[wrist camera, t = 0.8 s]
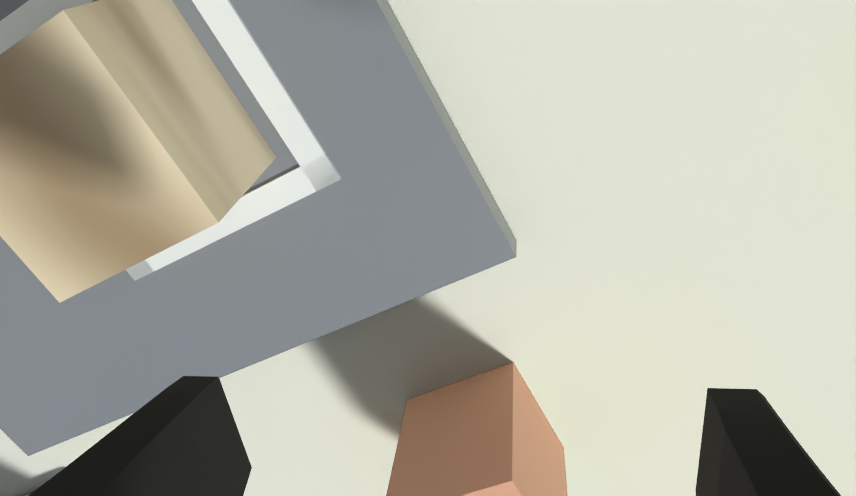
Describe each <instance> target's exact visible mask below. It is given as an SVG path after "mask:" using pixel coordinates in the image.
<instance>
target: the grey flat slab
mask: <svg viewBox="0 0 856 496" xmlns="http://www.w3.org/2000/svg"><path fill="white" fill-rule="evenodd" d="M94 1H98V0H0V54H2V53H3V52H4V51H6V50H7V49H9V48H10V47H11V46H13V45H14V44H16V43H17V42H19V41H20V40H21V39H23V38H24V37H26V36H27V35H29V34H30V33H31V32H33V31H34V30H36V29H37V28H39V27H40V26H41V25H43V24H44V23H46V22H47V21H48V20H50V19H51V18H53V17H54V16H56V15H57V14H58V13H60V12H61V11H63V10H66V9H69V8H73V7H76V6H80V5H84V4H87V3H91V2H94ZM172 1H173V3H174V4H175V6H176V7H177V9H178V10H179V12H180V13H181V15H182V16H183V18H184V19H185V21H186V22H187V24H188V25H189V27H190V28H191V30H192V31H193V33H194V34H195V36H196V37H197V39H198V40H199V42H200V43H201V45H202V46H203V48H204V49H205V51H206V52H207V54H208V55H209V57H210V58H211V60H212V61H213V63H214V64H215V66H216V67H217V69H218V70H219V72H220V73H221V75H222V76H223V78H224V79H225V81H226V83H227V84H228V86H229V87H230V89H231V90H232V92H233V93H234V95H235V96H236V98H237V99H238V101H239V102H240V104H241V105H242V107H243V108H244V110H245V111H246V113H247V114H248V116H249V117H250V119H251V120H252V122H253V123H254V125H255V126H256V128H257V129H258V131H259V132H260V134H261V135H262V137H263V138H264V140H265V141H266V143H267V144H268V146H269V147H270V149H271V150H272V152H273V153H274V155H275V156H276V158H275V159H274V161H273V162H272V163H271V164H270V165H269V166H268V167H267V169H266V170H265V171H264V172H263V173H262V174H261V175H260V176H259V178H258V179H257V180H256V181H255V182H254V183H253V184H252V186H251V187H250V188H249V189H248V190H247V191H246V192H245V193H244V195H243V196H242V197H241V198H240V199H239V200H238V201H237V202H236V204H235V205H234V206H233V207H232V208H231V209H230V210H229V212H228V213H227V214H226V215H225V216H224V217H223V218H222V219H221V221H220V222H219V223H217V224H215V225H213V226H211V227H209V228H207V229H205V230H203V231H201V232H199V233H197V234H195V235H193V236H191V237H189V238H187V239H185V240H183V241H181V242H179V243H177V244H175V245H173V246H171V247H169V248H167V249H165V250H163V251H161V252H159V253H157V254H155V255H153V256H151V257H149V258H147V259H146V260H144V261H142V262H140V263H138V264H136V265H134V266H132V267H130V268H128V269H126V270H124V271H122V272H120V273H118V274H116V275H114V276H112V277H110V278H108V279H106V280H104V281H102V282H100V283H98V284H96V285H94V286H92V287H90V288H88V289H86V290H84V291H82V292H80V293H78V294H76V295H74V296H72V297H70V298H68V299H66V300H64V301H62V302H60V303H59V302H58V301H57V300H56V298H55V297H54V296H53V295H52V294H51V293H50V292H49V290H48V289H47V288H46V287H45V286H44V285H43V284H42V283H41V281H40V280H39V279H38V278H37V277H36V276H35V275H34V274H33V272H32V271H31V270H30V269H29V268H28V267H27V266H26V265H25V263H24V262H23V261H22V260H21V259H20V258H19V257H18V256H17V254H16V253H15V252H14V251H13V250H12V249H11V248H10V246H9V245H8V244H7V243H6V242H5V241H4V240H3V239H2V237H1V236H0V429H1V430H2V431H3V432H4V433H5V434H6V435H7V436H8V437H9V438H10V439H11V440H12V441H13V442H14V443H15V444H16V445H17V446H19V447H20V448H21V449H22V450H23V451H24V452H25V453H26V454H27V455H28V456H29V455H32V454H34V453H37V452H39V451H42V450H44V449H46V448H49V447H51V446H54V445H56V444H59V443H61V442H64V441H66V440H69V439H71V438H73V437H76V436H78V435H81V434H83V433H86V432H88V431H91V430H93V429H96V428H98V427H100V426H103V425H105V424H108V423H110V422H113V421H115V420H118V419H120V418H122V417H125V416H127V415H130V414H132V413H135V412H136V411H138V410H139V409H140V408H141V407H143V406H144V405H145V404H147V403H148V402H149V401H150V400H152V399H153V398H154V397H155V396H157V395H158V394H159V393H161V392H162V391H163V390H165V389H166V388H167V387H169V386H170V385H171V384H173V383H174V382H176V381H177V380H178V379H180V378H181V377H183V376H211V377H219V378H221V377H223V376H225V375H228V374H230V373H233V372H235V371H238V370H240V369H243V368H245V367H248V366H250V365H252V364H255V363H257V362H260V361H262V360H265V359H267V358H270V357H272V356H275V355H277V354H279V353H282V352H284V351H287V350H289V349H292V348H294V347H297V346H299V345H302V344H304V343H306V342H309V341H311V340H314V339H316V338H319V337H321V336H324V335H326V334H328V333H331V332H333V331H336V330H338V329H341V328H343V327H346V326H348V325H351V324H353V323H355V322H358V321H360V320H363V319H365V318H368V317H370V316H373V315H375V314H378V313H380V312H382V311H385V310H387V309H390V308H392V307H395V306H397V305H400V304H402V303H405V302H407V301H409V300H412V299H414V298H417V297H419V296H422V295H424V294H427V293H429V292H431V291H434V290H436V289H439V288H441V287H444V286H446V285H449V284H451V283H454V282H456V281H458V280H461V279H463V278H466V277H468V276H471V275H473V274H476V273H478V272H481V271H483V270H485V269H488V268H490V267H493V266H495V265H498V264H500V263H503V262H505V261H508V260H510V259H512V258H515V257H516V239H515V237H514V235H513V233H512V231H511V229H510V228H509V226H508V224H507V222H506V220H505V218H504V216H503V215H502V213H501V211H500V209H499V207H498V205H497V203H496V202H495V200H494V198H493V196H492V194H491V192H490V190H489V189H488V187H487V185H486V183H485V181H484V179H483V177H482V176H481V174H480V172H479V170H478V168H477V166H476V164H475V163H474V161H473V159H472V157H471V155H470V153H469V151H468V150H467V148H466V146H465V144H464V142H463V140H462V139H461V137H460V135H459V133H458V131H457V129H456V127H455V126H454V124H453V122H452V120H451V118H450V116H449V114H448V113H447V111H446V109H445V107H444V105H443V103H442V101H441V100H440V98H439V96H438V94H437V92H436V90H435V88H434V87H433V85H432V83H431V81H430V79H429V77H428V75H427V74H426V72H425V70H424V68H423V66H422V64H421V62H420V61H419V59H418V57H417V55H416V53H415V51H414V49H413V48H412V46H411V44H410V42H409V40H408V38H407V36H406V35H405V33H404V31H403V29H402V27H401V25H400V23H399V22H398V20H397V18H396V16H395V14H394V12H393V10H392V9H391V7H390V5H389V3H388V1H387V0H172Z"/></svg>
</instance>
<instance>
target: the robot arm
mask: <svg viewBox="0 0 856 496" xmlns="http://www.w3.org/2000/svg"><path fill="white" fill-rule="evenodd" d="M251 468H252V467H251V465H250V462H249V459H248V456H247V454H246V451H245V448H244V445H243V443H242V440H241V437H240V434H239V432H238V429H237V426H236V423H235V421H234V418H233V415H232V412H231V410H230V407H229V404H228V401H227V399H226V396H225V393H224V390H223V388H222V385H221V382H220V379H219V377H211V376H183V377H181V378H180V379H178V380H177V381H176V382H174V383H173V384H171V385H170V386H169V387H167V388H166V389H165V390H163V391H162V392H161V393H159V394H158V395H157V396H155V397H154V398H153V399H152V400H150V401H149V402H148V403H147V404H145V405H144V406H143V407H141V408H140V409H139V410H138V411H136V412H135V413H134V414H133V415H131V416H130V417H129V418H128V419H126V420H125V421H124V422H123V423H121V424H120V425H119V426H118V427H116V428H115V429H114V430H112V431H111V432H110V433H109V434H107V435H106V436H105V437H104V438H102V439H101V440H100V441H99V442H97V443H96V444H95V445H93V446H92V447H91V448H90V449H88V450H87V451H86V452H85V453H83V454H82V455H81V456H79V457H78V458H77V459H76V460H74V461H73V462H72V463H71V464H69V465H68V466H67V467H65V468H64V469H63V470H62V471H60V472H59V473H58V474H57V475H55V476H54V477H53V478H51V479H50V480H49V481H47V482H46V483H44V484H43V485H42V486H40V487H39V488H38V489H36V490H35V491H34V492H32V493H31V494H29V495H26V496H243V494H244V491H245V488H246V484H247V481H248V478H249V475H250V471H251ZM696 496H841V495H840V494H839V493H838V491H837V490H836V489H835V488H834V487H833V485H832V484H831V483H830V482H829V480H828V479H827V478H826V477H825V475H824V474H823V473H822V472H821V470H820V469H819V468H818V467H817V465H816V464H815V463H814V462H813V460H812V459H811V458H810V457H809V455H808V454H807V453H806V452H805V450H804V449H803V448H802V446H801V445H800V444H799V442H798V441H797V440H796V439H795V437H794V436H793V435H792V433H791V432H790V431H789V429H788V428H787V427H786V425H785V424H784V423H783V421H782V420H781V419H780V417H779V416H778V415H777V413H776V412H775V411H774V409H773V408H772V406H771V405H770V404H769V402H768V401H767V400H766V398H765V397H764V396H763V395H762V394H761V393H760V392H759V391H758V390H757V389H718V388H708V390H707V398H706V407H705V416H704V424H703V433H702V441H701V450H700V458H699V467H698V475H697V484H696Z"/></svg>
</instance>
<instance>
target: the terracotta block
mask: <svg viewBox="0 0 856 496" xmlns="http://www.w3.org/2000/svg"><path fill="white" fill-rule="evenodd" d="M386 496H567V483H566V471H565V459H564V447H563V446H562V444H561V442H560V440H559V439H558V437H557V435H556V434H555V432H554V430H553V429H552V427H551V425H550V424H549V422H548V420H547V418H546V417H545V415H544V413H543V412H542V410H541V408H540V407H539V405H538V403H537V401H536V400H535V398H534V396H533V395H532V393H531V391H530V390H529V388H528V386H527V384H526V383H525V381H524V379H523V378H522V376H521V374H520V373H519V371H518V369H517V368H516V366H515V364H514V362H513V363H510V364H507V365H504V366H501V367H498V368H496V369H493V370H490V371H487V372H484V373H481V374H479V375H476V376H473V377H470V378H467V379H464V380H462V381H459V382H456V383H453V384H450V385H448V386H445V387H442V388H439V389H436V390H433V391H431V392H428V393H425V394H422V395H419V396H416V397H414V398H411V399H408V400H407V402H406V407H405V411H404V416H403V421H402V425H401V430H400V435H399V439H398V444H397V449H396V453H395V458H394V462H393V467H392V472H391V476H390V481H389V486H388V490H387V495H386Z"/></svg>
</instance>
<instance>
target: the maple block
mask: <svg viewBox="0 0 856 496" xmlns="http://www.w3.org/2000/svg"><path fill="white" fill-rule="evenodd" d="M275 158H276V156H275V155H274V153H273V152H272V150H271V149H270V147H269V146H268V144H267V143H266V141H265V140H264V138H263V137H262V135H261V134H260V132H259V131H258V129H257V128H256V126H255V125H254V123H253V122H252V120H251V119H250V117H249V116H248V114H247V113H246V111H245V110H244V108H243V107H242V105H241V104H240V102H239V101H238V99H237V98H236V96H235V95H234V93H233V92H232V90H231V89H230V87H229V86H228V84H227V83H226V81H225V79H224V78H223V76H222V75H221V73H220V72H219V70H218V69H217V67H216V66H215V64H214V63H213V61H212V60H211V58H210V57H209V55H208V54H207V52H206V51H205V49H204V48H203V46H202V45H201V43H200V42H199V40H198V39H197V37H196V36H195V34H194V33H193V31H192V30H191V28H190V27H189V25H188V24H187V22H186V21H185V19H184V18H183V16H182V15H181V13H180V12H179V10H178V9H177V7H176V6H175V4H174V3H173V1H172V0H98V1H94V2H91V3H87V4H84V5H80V6H76V7H73V8H69V9H66V10H63V11H61V12H60V13H58V14H57V15H56V16H54V17H53V18H51V19H50V20H48V21H47V22H46V23H44V24H43V25H41V26H40V27H39V28H37V29H36V30H34V31H33V32H31V33H30V34H29V35H27V36H26V37H24V38H23V39H21V40H20V41H19V42H17V43H16V44H14V45H13V46H11V47H10V48H9V49H7V50H6V51H4V52H3V53H2V54H0V236H1V237H2V239H3V240H4V241H5V242H6V243H7V244H8V245H9V246H10V248H11V249H12V250H13V251H14V252H15V253H16V254H17V256H18V257H19V258H20V259H21V260H22V261H23V262H24V263H25V265H26V266H27V267H28V268H29V269H30V270H31V271H32V272H33V274H34V275H35V276H36V277H37V278H38V279H39V280H40V281H41V283H42V284H43V285H44V286H45V287H46V288H47V289H48V290H49V292H50V293H51V294H52V295H53V296H54V297H55V298H56V300H57V301H58V302H59V303H60V302H62V301H64V300H66V299H68V298H70V297H72V296H74V295H76V294H78V293H80V292H82V291H84V290H86V289H88V288H90V287H92V286H94V285H96V284H98V283H100V282H102V281H104V280H106V279H108V278H110V277H112V276H114V275H116V274H118V273H120V272H122V271H124V270H126V269H128V268H130V267H132V266H134V265H136V264H138V263H140V262H142V261H144V260H146V259H147V258H149V257H151V256H153V255H155V254H157V253H159V252H161V251H163V250H165V249H167V248H169V247H171V246H173V245H175V244H177V243H179V242H181V241H183V240H185V239H187V238H189V237H191V236H193V235H195V234H197V233H199V232H201V231H203V230H205V229H207V228H209V227H211V226H213V225H215V224H217V223H219V222H220V221H221V219H222V218H223V217H224V216H225V215H226V214H227V213H228V212H229V210H230V209H231V208H232V207H233V206H234V205H235V204H236V202H237V201H238V200H239V199H240V198H241V197H242V196H243V195H244V193H245V192H246V191H247V190H248V189H249V188H250V187H251V186H252V184H253V183H254V182H255V181H256V180H257V179H258V178H259V176H260V175H261V174H262V173H263V172H264V171H265V170H266V169H267V167H268V166H269V165H270V164H271V163H272V162H273V161H274V159H275Z"/></svg>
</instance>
